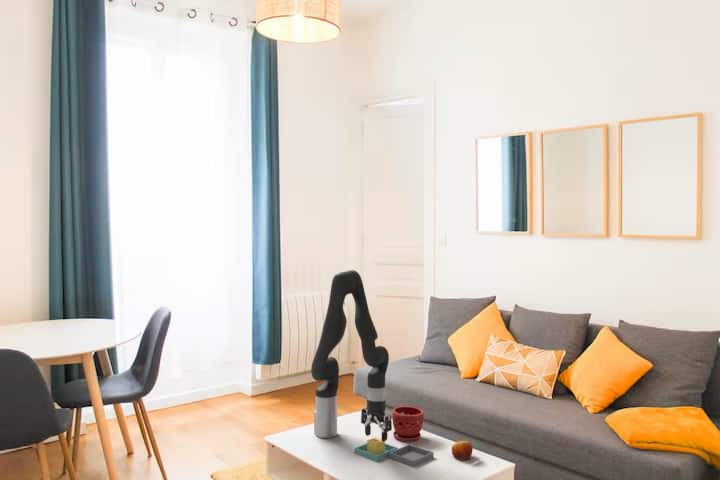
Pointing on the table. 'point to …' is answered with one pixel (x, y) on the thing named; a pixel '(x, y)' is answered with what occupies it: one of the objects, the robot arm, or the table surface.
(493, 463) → the table surface
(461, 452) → the fruit
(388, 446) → the tray
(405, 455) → the tray
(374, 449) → the marked block
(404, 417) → the plant pot
